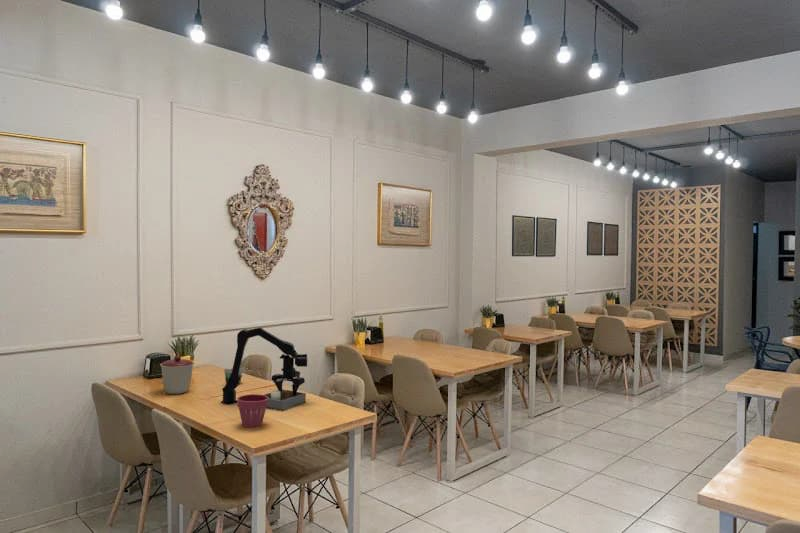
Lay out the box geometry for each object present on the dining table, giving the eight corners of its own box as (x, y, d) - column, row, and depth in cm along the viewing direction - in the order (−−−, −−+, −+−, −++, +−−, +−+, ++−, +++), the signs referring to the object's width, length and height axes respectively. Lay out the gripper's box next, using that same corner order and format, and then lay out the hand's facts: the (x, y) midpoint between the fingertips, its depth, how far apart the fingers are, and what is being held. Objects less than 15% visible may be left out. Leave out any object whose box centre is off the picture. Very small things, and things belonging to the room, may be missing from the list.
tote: (282, 411, 280) (282, 401, 280) (256, 406, 288) (256, 396, 288) (305, 402, 298) (305, 393, 298) (280, 397, 305) (281, 389, 305)
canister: (160, 389, 317) (161, 353, 317) (193, 387, 323) (194, 352, 323) (158, 397, 300) (159, 359, 300) (193, 395, 306) (194, 357, 306)
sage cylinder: (276, 406, 285) (276, 393, 285) (268, 405, 287) (268, 392, 287) (282, 404, 290) (282, 391, 290) (274, 403, 292) (274, 390, 292)
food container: (229, 387, 327) (230, 370, 327) (223, 385, 331) (224, 369, 331) (246, 383, 337) (247, 367, 337) (240, 382, 341) (241, 366, 341)
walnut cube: (293, 400, 298) (294, 391, 298) (288, 402, 294) (288, 393, 294) (286, 398, 301) (286, 390, 301) (280, 401, 296) (281, 391, 296)
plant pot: (270, 420, 264) (271, 394, 264) (264, 429, 250) (265, 401, 250) (240, 419, 263) (241, 393, 263) (233, 428, 249) (233, 401, 249)
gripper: (311, 366, 300) (310, 394, 300) (284, 362, 308) (283, 389, 309) (298, 369, 290) (297, 398, 290) (271, 365, 298) (270, 393, 299)
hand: (287, 394), depth 297 cm, fingers open, 9 cm apart
